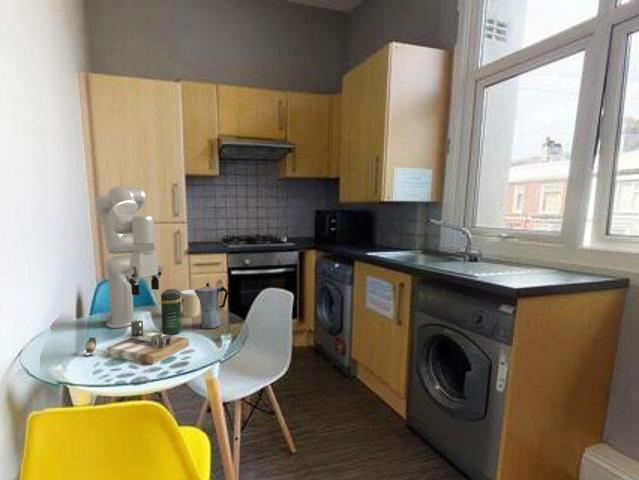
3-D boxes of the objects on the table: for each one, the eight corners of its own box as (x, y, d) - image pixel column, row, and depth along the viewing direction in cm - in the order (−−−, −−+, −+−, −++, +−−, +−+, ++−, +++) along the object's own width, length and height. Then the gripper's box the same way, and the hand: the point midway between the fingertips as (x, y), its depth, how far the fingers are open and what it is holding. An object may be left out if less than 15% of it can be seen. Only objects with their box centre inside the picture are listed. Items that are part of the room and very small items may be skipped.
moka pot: (197, 322, 171) (196, 281, 169) (230, 322, 172) (229, 280, 170) (191, 329, 161) (190, 285, 159) (227, 329, 163) (226, 285, 161)
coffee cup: (184, 312, 187) (183, 289, 186) (202, 312, 188) (202, 289, 187) (179, 318, 178) (178, 294, 177) (198, 317, 179) (198, 293, 178)
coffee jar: (181, 334, 155) (180, 292, 153) (161, 336, 153) (159, 293, 151) (182, 327, 164) (180, 287, 163) (163, 329, 162) (161, 288, 160)
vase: (86, 350, 138) (87, 335, 137) (101, 351, 138) (102, 336, 138) (78, 356, 132) (79, 340, 132) (94, 357, 133) (95, 341, 132)
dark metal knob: (127, 339, 139) (126, 322, 139) (136, 336, 143) (135, 319, 142) (153, 344, 135) (153, 326, 134) (161, 340, 138) (161, 323, 138)
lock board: (107, 355, 134) (106, 338, 133) (146, 338, 151) (146, 323, 150) (153, 364, 126) (152, 346, 126) (188, 345, 143) (188, 330, 142)
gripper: (153, 245, 148) (154, 286, 149) (117, 250, 132) (119, 296, 133) (168, 245, 145) (169, 288, 147) (133, 250, 129) (135, 298, 131)
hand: (145, 292), depth 140 cm, fingers open, 9 cm apart
